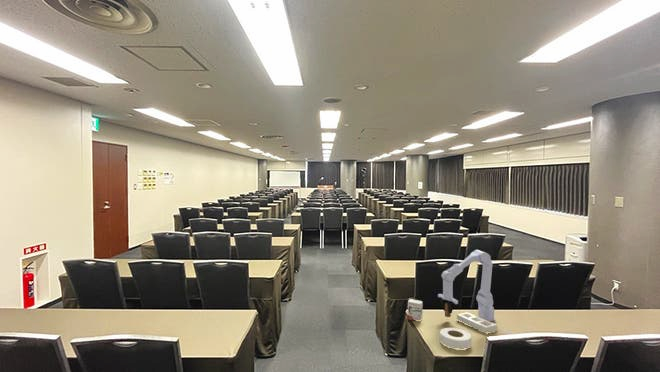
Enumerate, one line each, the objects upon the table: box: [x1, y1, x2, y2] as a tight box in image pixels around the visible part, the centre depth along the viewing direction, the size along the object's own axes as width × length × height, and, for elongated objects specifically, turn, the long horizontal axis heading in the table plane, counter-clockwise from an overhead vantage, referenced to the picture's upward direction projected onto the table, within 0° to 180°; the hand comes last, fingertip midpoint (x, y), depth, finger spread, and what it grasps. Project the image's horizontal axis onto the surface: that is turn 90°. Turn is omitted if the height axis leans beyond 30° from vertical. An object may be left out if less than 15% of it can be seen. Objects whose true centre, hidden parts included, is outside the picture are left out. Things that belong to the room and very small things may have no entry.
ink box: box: [407, 298, 424, 321], centre depth 207 cm, size 9×5×12 cm, turn 62°
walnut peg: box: [444, 302, 452, 318], centre depth 205 cm, size 4×4×8 cm
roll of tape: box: [439, 327, 472, 349], centre depth 176 cm, size 16×16×6 cm
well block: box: [456, 312, 498, 333], centre depth 198 cm, size 9×21×4 cm, turn 27°
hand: (447, 311), depth 205 cm, fingers closed on walnut peg, 3 cm apart
